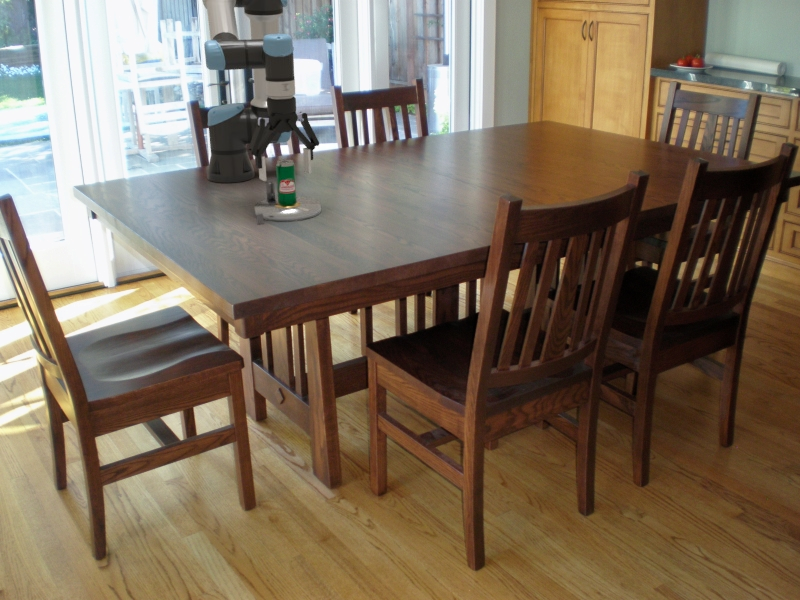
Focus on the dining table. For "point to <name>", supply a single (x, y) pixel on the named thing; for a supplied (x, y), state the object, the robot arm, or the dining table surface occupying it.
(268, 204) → the turntable
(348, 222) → the dining table surface
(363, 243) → the dining table surface
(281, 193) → the soda can
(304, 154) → the robot arm
